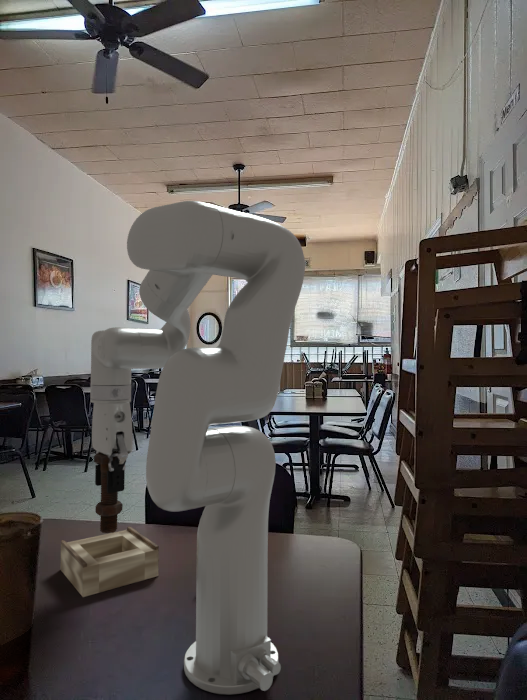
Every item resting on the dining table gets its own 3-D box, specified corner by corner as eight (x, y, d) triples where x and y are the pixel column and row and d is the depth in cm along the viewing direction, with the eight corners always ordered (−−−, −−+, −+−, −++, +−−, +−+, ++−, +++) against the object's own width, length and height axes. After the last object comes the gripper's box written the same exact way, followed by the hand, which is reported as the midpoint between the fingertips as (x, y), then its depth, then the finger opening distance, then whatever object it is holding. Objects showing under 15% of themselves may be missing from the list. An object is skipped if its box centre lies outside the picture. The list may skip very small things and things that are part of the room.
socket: (158, 575, 92) (158, 546, 92) (82, 597, 84) (83, 564, 84) (129, 552, 103) (129, 526, 103) (60, 569, 95) (60, 540, 95)
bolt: (113, 537, 90) (114, 456, 91) (88, 535, 92) (89, 455, 92) (127, 527, 96) (129, 451, 97) (104, 525, 97) (105, 449, 98)
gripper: (147, 396, 90) (146, 495, 89) (113, 391, 104) (112, 476, 103) (107, 398, 85) (105, 501, 85) (77, 392, 99) (76, 481, 99)
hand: (109, 487), depth 94 cm, fingers closed on bolt, 5 cm apart
